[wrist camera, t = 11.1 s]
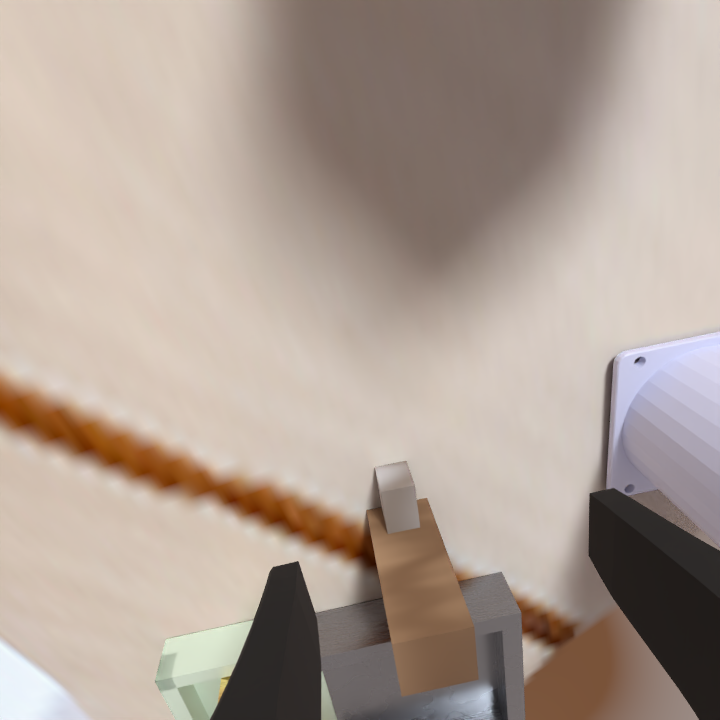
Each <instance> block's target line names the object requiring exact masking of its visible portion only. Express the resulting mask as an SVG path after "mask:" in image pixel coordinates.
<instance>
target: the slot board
mask: <svg viewBox="0 0 720 720" xmlns="http://www.w3.org/2000/svg"><path fill="white" fill-rule="evenodd" d="M458 584H459V586H460V589H461V592H462V594H463V597H464V600H465V603H466V605H467V608H468V611H469V613H470V616H471V619H472V622H473V624H474V628H475V641H476V653H477V665H478V677H479V680H475V681H471V682H466V683H462V684H457V685H453V686H448V687H444V688H439V689H435V690H430V691H425V692H421V693H416V694H412V695H407V696H403V697H402V696H401V690H400V685H399V680H398V675H397V669H396V664H395V659H394V653H393V648H392V643H391V638H390V632H389V627H388V622H387V617H386V611H385V606H384V601H383V598H382V599H378V600H373V601H369V602H364V603H360V604H355V605H351V606H346V607H342V608H337V609H333V610H328V611H323V612H319V613H315V614H316V618H317V623H318V633H319V643H320V655H321V671H323V674H324V677H325V681H326V684H327V687H328V691H329V694H330V697H331V700H332V704H333V707H334V710H335V713H336V717H337V720H525V701H524V675H523V649H522V623H521V611H520V609H519V607H518V605H517V603H516V601H515V599H514V597H513V595H512V593H511V590H510V588H509V586H508V584H507V582H506V580H505V578H504V576H503V574H502V572H500V573H496V574H491V575H487V576H482V577H478V578H473V579H469V580H464V581H460V582H458Z"/></svg>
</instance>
